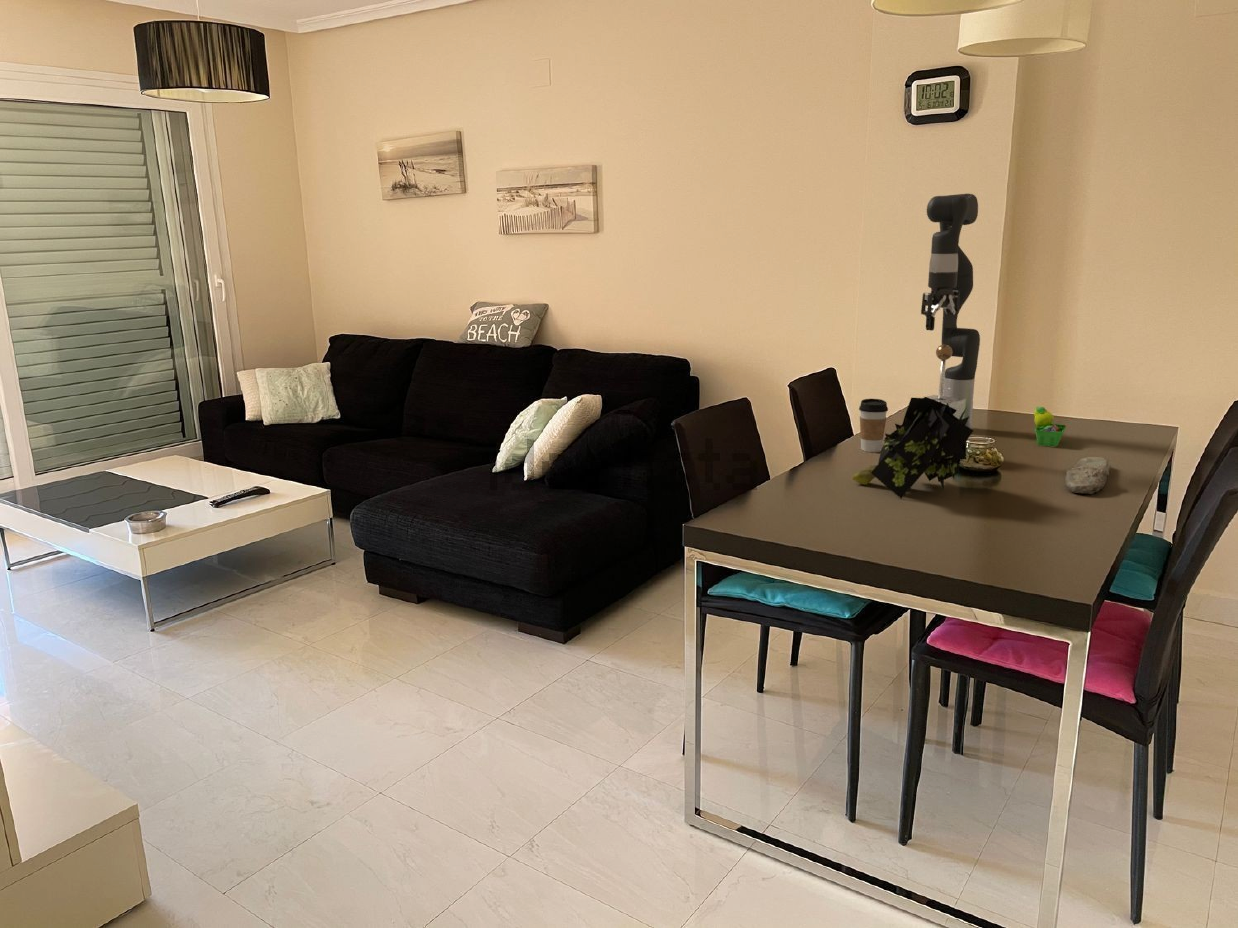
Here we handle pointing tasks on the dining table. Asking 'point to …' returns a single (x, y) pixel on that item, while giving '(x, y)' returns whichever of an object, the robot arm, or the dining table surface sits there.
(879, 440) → the coffee cup
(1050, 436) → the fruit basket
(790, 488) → the dining table surface
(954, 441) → the black leafy clump
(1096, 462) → the elongated rock
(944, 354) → the plunger
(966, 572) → the dining table surface
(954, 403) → the press
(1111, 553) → the dining table surface
